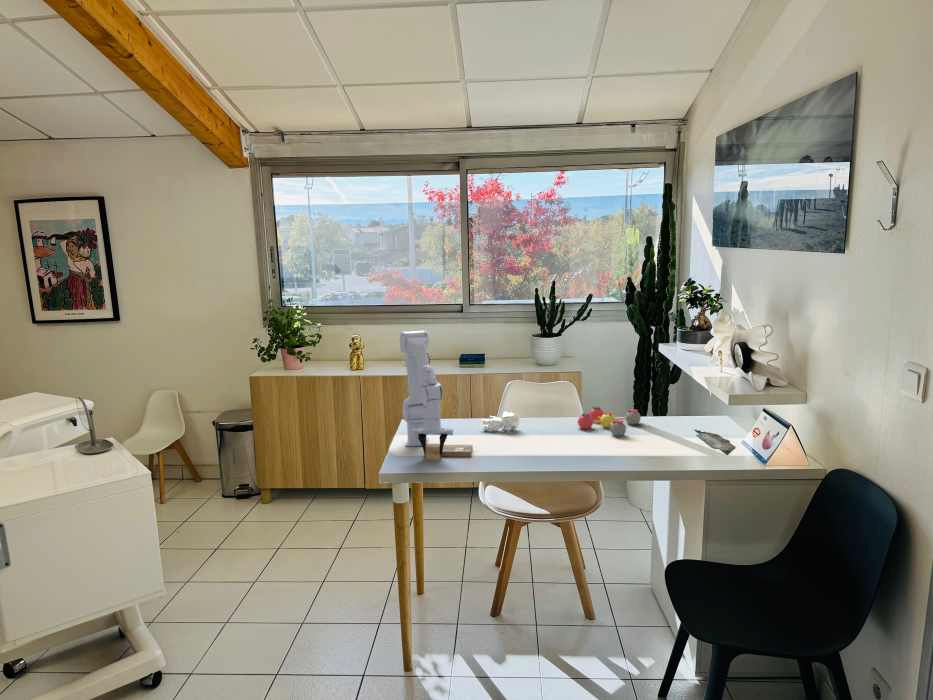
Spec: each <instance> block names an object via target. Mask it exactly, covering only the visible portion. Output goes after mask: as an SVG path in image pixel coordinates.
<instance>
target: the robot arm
mask: <svg viewBox="0 0 933 700" xmlns="http://www.w3.org/2000/svg"><path fill="white" fill-rule="evenodd" d="M429 340H430V339H429V333H428V332H427V331H426V330H423V329H422V330H416V331H402V332H401V333H400V337H399V343H400V344H399V346H400V347H399V348H400V351H401V352H400V353H401V354H404V355H405V360H406V361H405V362H406V373H407V387H408V397H406V398H405V399H404V400H403V402H402V409H401V411H402V412H401V413H402V414H401V415H402V419H403V420H404V421H405V422H406V428H407V433H406V434H407V440H406V443H405V447H422V450H423V454H424V456H425V455H426V445H427V444H428V442H429V440H430V438H429V437H427V435H433V436H434V435H436V436H439V444H440V455H442V452H443V446H444V445H445V443H446V440H447V438H448V435H449V436H453V435H454V429H453V428H446V427H442V425H441V400H443V387H442V385H441V383H440V382H439V381H438V380H437V378H436V374H435V371H434V367H432V366H431V365H430V364H429V359H428V354H427V349H428V347H429Z"/></svg>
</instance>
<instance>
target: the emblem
mask: <svg viewBox="0 0 933 700" xmlns="http://www.w3.org/2000/svg"><path fill="white" fill-rule="evenodd" d="M694 430H695V431H694V432H696V435H695V436H696V437H697V438H698V437H699V438H698V439H700V440H701V441H702V442H703V441H704V442H703V443H705V444H706V445H707V446H709V448H711V449H714V450H719V451H721V452H722V453H724V454H725V455H726V456H728V455H729V454H730V453H731V452H732V451H733V450H735V448H736V446H735V445H733V444H732V443H730V440H729V439H726V438H723V436H721V435H720V434H717V433H711V432H707V431H704V432H701V431H702V430H698V429H694ZM697 430H698V431H697ZM698 433H699V434H698Z"/></svg>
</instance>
